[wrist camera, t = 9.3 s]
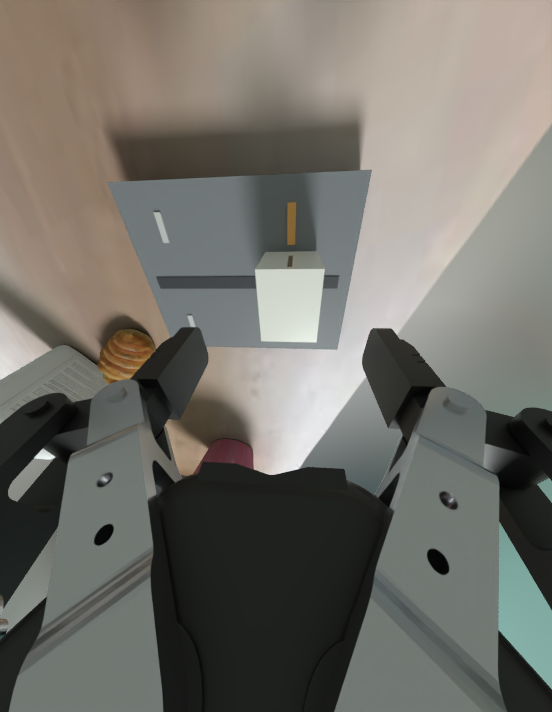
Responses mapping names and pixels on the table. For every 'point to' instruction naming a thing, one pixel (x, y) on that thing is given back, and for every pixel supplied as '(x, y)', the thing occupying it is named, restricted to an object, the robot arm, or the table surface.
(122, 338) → the pastry
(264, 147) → the table surface
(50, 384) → the photo printer
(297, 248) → the console
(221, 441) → the plant pot
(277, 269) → the fader tab
